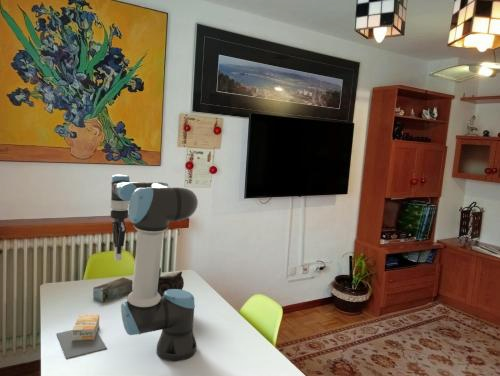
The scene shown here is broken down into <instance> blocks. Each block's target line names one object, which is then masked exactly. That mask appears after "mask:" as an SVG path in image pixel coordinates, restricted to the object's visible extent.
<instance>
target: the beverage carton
mask: <svg viewBox="0 0 500 376" xmlns="http://www.w3.org/2000/svg"><path fill="white" fill-rule="evenodd" d="M92 292H93V293H92V295H93V297H92V298H93V299H94V300H95V301H98V302H101V303H105V302H108V301H110V300H113V299H116V298H118V297H121V296H122V295H125V294H128V293H131V292H133V280H132V279H129V278H127V277H121V278H116V279H115V280H112V281H109V282H107V283H104V284H101V285H97V286H94V287H93V290H92Z"/></svg>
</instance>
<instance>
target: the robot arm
mask: <svg viewBox="0 0 500 376" xmlns="http://www.w3.org/2000/svg"><path fill="white" fill-rule="evenodd" d="M110 183H111V190H110V191H111V195H110V196H111V197H110V198H111V199H110V218H111V219H113V220H114V221H112V222H111V224H112V225H111V226H112V242H113V244H114V246H113V247H114V256H113V258H114V259H113V260H114V261H115V262H116V261H117V262H118V261H122V255H123V254H122V253H123V251H122V250H123V249H122V248H123V247H124V245H125V238H126V237H125V236H126V231H127V226H126V225H125V224H126V223H125V219H129V221H130V222H131V223H132V224H133V227H134V229H135V230H136V231H137V234H136V243H135V244H136V245H135V258H134V259H135V260H134V269H133V280H132V281H133V284H132V291H131V292H129V294H128V295H127V300H126V301H124V302H122V303H121V304H120V305H121V306H120V308H121V309H120V312H121V319H122V324H123V327H124V330H125V332H126V334H127V335H129V336H135V335H141V334H145V333H151V332H156V331H161V333H160V336H159V339H158V340H157V343H156V354H157V356H158V357H159V358H161V359H163V360H166V361H168V362H169V361H171V362H180V361H181V362H182V361H185V360H188V359H190V358H192V357H193V356H195V355H196V352H197V346H198V345H197V340H196V338H195V334H194V317H195V307H196V306H195V305H196V304H195V297H194V295H193V294H192V293H191V292H190V291H188V290H187V291H186V290H184V289H182V290H180V289H169V290H167V291H165V292H164V294H163V295H164V296H163V297H161V296H160V294H159V293H158V292H157V290H158V280H159V270H160V268H161V259H162V250H163V249H162V247H163V239H164V232H165V231H167V230H168V229H169V225H170V222H179V221H184V220H186V219H188V218H191V216H193V215H194V213H195V212H196V211H197V208H198V205H199V204H198V202H199V201H198V196H197V195H196V194H195V193H194V191H193V190H191V189H188V188H184V187H171V186H169V184H168V183H166V182H162V181H161V182H160V181H159V182H139V181H137V182H135V181H134V182H133V181H130V176H129V175H126V174H114V175H112V176H111V182H110Z"/></svg>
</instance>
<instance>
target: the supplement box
mask: <svg viewBox="0 0 500 376" xmlns="http://www.w3.org/2000/svg"><path fill="white" fill-rule="evenodd" d="M99 327H100V314H79V315H78V317H77V319H76V321H75V323H74V326H73V328H72V329H71V330H72V341H81V340H94V339H95V336H96V333H97V332H98V329H99Z"/></svg>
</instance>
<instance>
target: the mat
mask: <svg viewBox="0 0 500 376" xmlns="http://www.w3.org/2000/svg"><path fill="white" fill-rule="evenodd" d="M72 330H73V329H71V330H66V331H61V332H56V336H57V338H58V341H59V343H60V345H61V349H62V352H63V351H64V352H63V354H64V356H66V357H65V359H66V360H68V359H73V358H77V357H80V356H83V355H87V354H92V353H95V352H100V351H103V350H107V349H108V347H107V346H106V344H105V343H104V341H103V339H102V337H101V336H100V334H99V332H98V331H97V333H96V336H95V339H94V340H81V341H72ZM67 358H68V359H67Z"/></svg>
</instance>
